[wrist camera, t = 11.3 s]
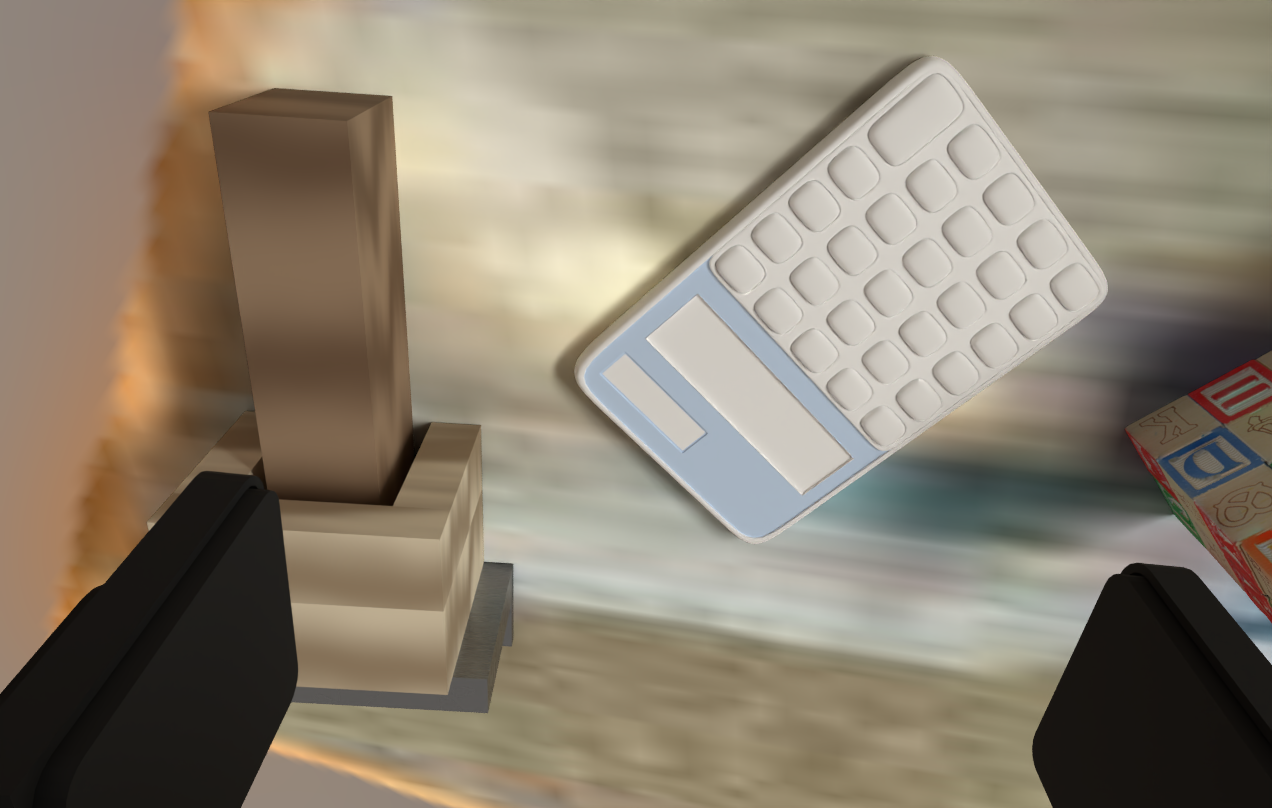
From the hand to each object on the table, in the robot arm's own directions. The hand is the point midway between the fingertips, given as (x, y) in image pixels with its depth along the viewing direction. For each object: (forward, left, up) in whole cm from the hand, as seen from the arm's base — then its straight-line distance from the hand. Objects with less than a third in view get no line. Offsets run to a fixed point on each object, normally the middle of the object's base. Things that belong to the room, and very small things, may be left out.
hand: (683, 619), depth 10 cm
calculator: (+7, +8, -29) cm, 31 cm away
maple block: (+17, -13, -28) cm, 35 cm away
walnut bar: (+8, -13, -28) cm, 32 cm away
